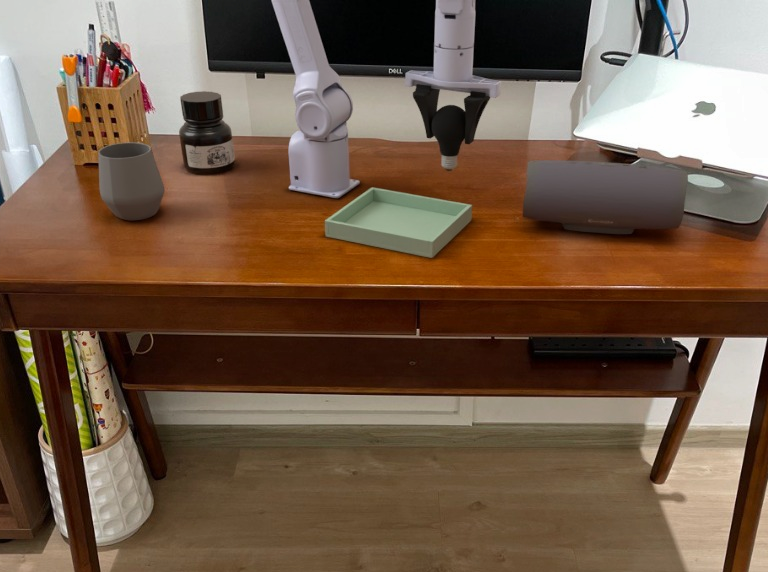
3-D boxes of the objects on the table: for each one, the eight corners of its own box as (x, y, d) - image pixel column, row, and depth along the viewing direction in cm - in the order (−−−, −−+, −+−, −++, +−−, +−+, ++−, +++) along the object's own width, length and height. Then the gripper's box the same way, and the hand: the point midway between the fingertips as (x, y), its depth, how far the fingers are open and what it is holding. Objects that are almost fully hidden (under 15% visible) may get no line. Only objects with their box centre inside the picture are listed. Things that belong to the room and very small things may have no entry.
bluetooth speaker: (672, 222, 128) (684, 158, 122) (677, 247, 120) (691, 179, 114) (524, 211, 131) (530, 148, 125) (520, 234, 123) (526, 168, 117)
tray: (325, 236, 122) (324, 220, 121) (372, 202, 133) (371, 187, 132) (432, 258, 116) (432, 241, 115) (471, 220, 128) (472, 204, 126)
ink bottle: (190, 178, 141) (179, 106, 134) (175, 163, 148) (164, 93, 141) (244, 169, 145) (237, 99, 138) (228, 155, 152) (220, 87, 145)
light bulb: (429, 164, 133) (431, 100, 127) (466, 164, 133) (469, 100, 127) (430, 177, 128) (432, 110, 122) (468, 177, 128) (472, 111, 122)
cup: (129, 199, 133) (117, 137, 127) (179, 207, 131) (169, 144, 125) (92, 221, 126) (77, 156, 120) (144, 230, 123) (132, 163, 118)
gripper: (510, 44, 120) (503, 138, 128) (419, 35, 125) (417, 126, 133) (494, 54, 115) (487, 152, 123) (399, 44, 120) (399, 138, 127)
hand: (450, 139), depth 127 cm, fingers closed on light bulb, 6 cm apart
